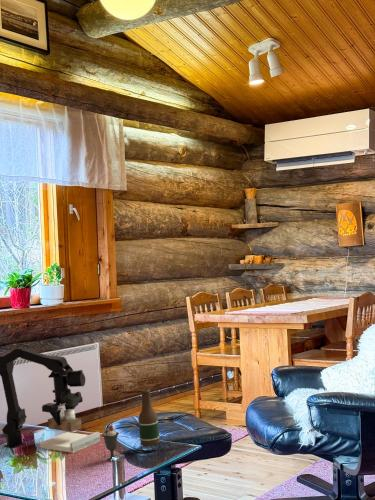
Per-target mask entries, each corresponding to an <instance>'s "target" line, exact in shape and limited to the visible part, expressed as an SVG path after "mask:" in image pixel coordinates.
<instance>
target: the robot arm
mask: <svg viewBox="0 0 375 500" xmlns="http://www.w3.org/2000/svg"><path fill="white" fill-rule="evenodd" d="M19 358H20V359H22V360H26V361H29V362H32V363H35V364H38V365H42V366H44V367H45V368H46V369H47V370H48V371H50V374H49V375H48V378H50V379H51V378H53V388H54V389H52V391H51V392H52V393H53V394H54V399H53V402H47V403H45V404H42V406H41V411H42V412H43V413H49V414H50V415H51V418H54V420H55V421H56V423H57V425H58V426H60V412H61V410H59V408H61V407H62V406H64V408H65V410H68V409H74V410H75V409H76V407H77V406H79V404H80V403H83V401H84V399H83V396H82V392H81V391H76V392H74V393H73V392H71V391H72V390H71V388H74V387H75V388H76V387H84V386H85V385H86V376H85V374H84V372H83V369H79V370H74V369H73V368H72V367H71V365H70V364H69V362H68V361H67V358H66V357H64V356H59V355H47V354H44V353H40V352H38V351H35V350H31V349H27V348H25V347H23V346H20V347H17V348H14V350H12V351H10V352H9V353H3V354H1V355H0V377H1V382H2V386H3V390H4V396H5V397H4V398H5V401H6V406H7V413H6V424H5V426H3V428H2V429H1V430H2V433H3V435H5V440H6V444H4V445H3V447H6V448H11V449H15V448H18V447H20V446H23V445H25V444H26V443H25V442H24V441H23V440H22V432H21V429H23V426H24V424H25V423H26V422H27V421H26V418H27V415H26V409H25V408H21V407H20V405H19V400H18V396H17V390H16V384H15V381H14V375H13V374H14V373H13V372H14V366H15V364H14V362H15V361H16V360H18V359H19ZM69 387H70V388H69Z"/></svg>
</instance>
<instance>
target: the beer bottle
mask: <svg viewBox="0 0 375 500" xmlns="http://www.w3.org/2000/svg"><path fill="white" fill-rule="evenodd" d="M140 394H141V411H140V412H139V415H138V429H139V431H138V432H139V440H140V446H141V445H143V446H151V445H154V444H158V443H159V442H160V443H161V438H160V430H159V429H160V428H159V427H160V425H159V419H158V415H157V413H156V411H155V410H154V409H153V406H152V399H151V390H150V389H148V388H144V389H141V390H140Z"/></svg>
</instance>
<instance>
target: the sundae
mask: <svg viewBox="0 0 375 500" xmlns="http://www.w3.org/2000/svg"><path fill="white" fill-rule="evenodd" d="M113 424H114V422H111V423H110V425H109V426H108V427H105V431H104V433H102V434H101V437H102V438H103V439H104V442H105V444H104V445H105V448H106V449H107V450H108V451H109V452H110V457H108V458H106V461H107V462H110V461H111V459H112V457H116V456H115V453H114V451H115V450H116V449H117V447H118V446H117V445H118V436H119V435H120V432H117V431H116V430H115V428H114V427H113V426H114V425H113ZM110 463H111V462H110Z"/></svg>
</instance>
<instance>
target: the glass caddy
mask: <svg viewBox="0 0 375 500" xmlns="http://www.w3.org/2000/svg"><path fill="white" fill-rule="evenodd" d="M59 410H61V412H60V426H58V425H57V423H56V421H55V420H54V418H53V417H51V418H48V419H47V427H48V429H50V430H56V431H61V432H62V431H63V432H70V433H74V432H75V431H78V430H80V429H82V427H83V426H82V418H78V417H76V411H75V408H74V409H68V410H66V409H65V410H64V409H63V407H59Z"/></svg>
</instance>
